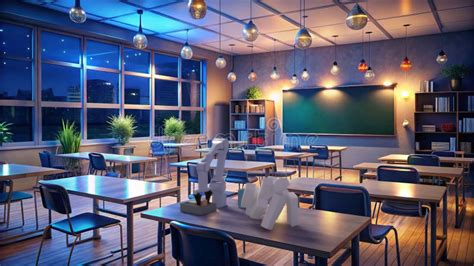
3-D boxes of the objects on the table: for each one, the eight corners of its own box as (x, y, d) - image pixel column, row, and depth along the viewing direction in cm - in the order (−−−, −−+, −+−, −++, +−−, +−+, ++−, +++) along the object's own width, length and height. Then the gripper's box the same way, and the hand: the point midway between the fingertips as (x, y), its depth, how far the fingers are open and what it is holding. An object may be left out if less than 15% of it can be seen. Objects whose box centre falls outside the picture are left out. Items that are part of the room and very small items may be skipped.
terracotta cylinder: (203, 210, 228) (203, 198, 228) (209, 211, 225) (208, 199, 225) (197, 211, 224) (197, 200, 224) (203, 212, 221) (203, 201, 221)
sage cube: (194, 208, 233) (194, 200, 233) (199, 209, 230) (199, 201, 230) (188, 209, 229) (188, 201, 229) (194, 211, 226) (193, 202, 226)
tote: (196, 207, 238) (196, 199, 238) (216, 211, 227) (216, 203, 227) (180, 211, 227) (180, 203, 227) (200, 215, 216) (200, 207, 216)
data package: (256, 209, 233) (256, 190, 233) (252, 210, 230) (252, 191, 229) (242, 206, 241) (242, 187, 240) (237, 207, 237) (237, 188, 237)
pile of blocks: (225, 232, 203) (226, 180, 185) (251, 201, 225) (255, 153, 208) (283, 259, 188) (291, 207, 170) (305, 224, 210) (314, 174, 193)
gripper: (199, 184, 216) (199, 207, 217) (215, 181, 227) (216, 203, 228) (190, 183, 220) (190, 205, 221) (207, 179, 232) (207, 201, 232)
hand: (203, 204), depth 225 cm, fingers open, 7 cm apart
